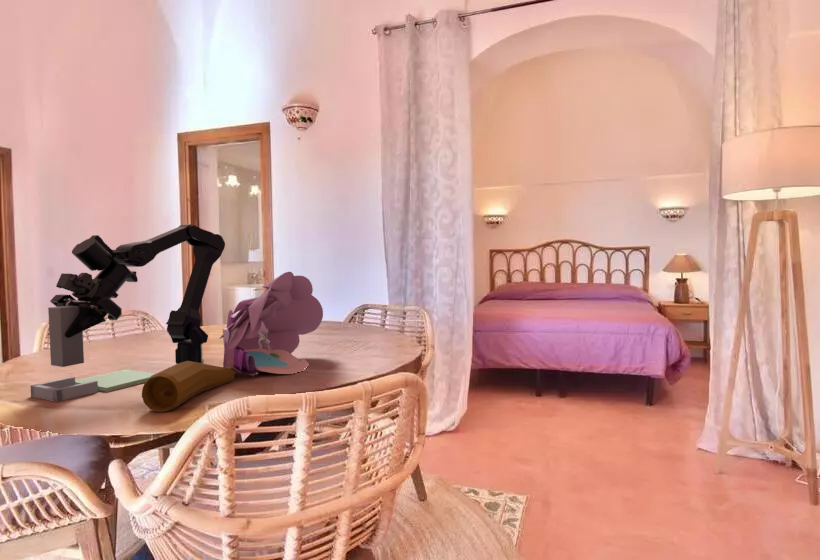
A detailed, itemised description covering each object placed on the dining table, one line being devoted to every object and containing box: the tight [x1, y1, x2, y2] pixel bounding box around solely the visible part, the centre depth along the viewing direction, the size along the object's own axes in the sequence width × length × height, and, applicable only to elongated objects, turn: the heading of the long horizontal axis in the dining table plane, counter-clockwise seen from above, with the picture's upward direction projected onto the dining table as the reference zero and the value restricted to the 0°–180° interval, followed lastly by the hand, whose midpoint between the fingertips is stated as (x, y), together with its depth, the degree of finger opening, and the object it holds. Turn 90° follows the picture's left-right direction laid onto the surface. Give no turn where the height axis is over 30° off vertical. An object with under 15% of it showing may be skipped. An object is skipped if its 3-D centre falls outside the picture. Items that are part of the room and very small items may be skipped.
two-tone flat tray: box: [30, 368, 156, 403], centre depth 117 cm, size 23×14×2 cm, turn 154°
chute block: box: [47, 306, 85, 368], centre depth 110 cm, size 4×4×13 cm
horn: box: [141, 361, 236, 413], centre depth 109 cm, size 8×10×25 cm
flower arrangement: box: [219, 271, 324, 377], centre depth 134 cm, size 36×24×29 cm
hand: (59, 336), depth 109 cm, fingers closed on chute block, 4 cm apart
